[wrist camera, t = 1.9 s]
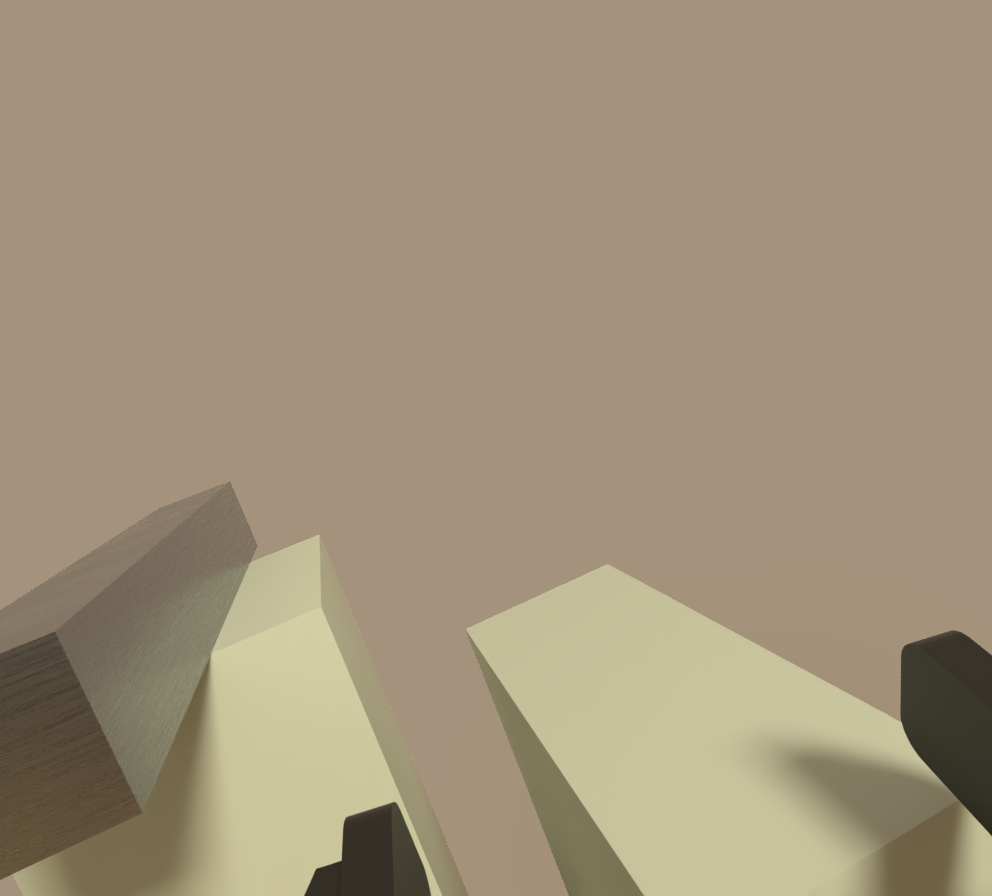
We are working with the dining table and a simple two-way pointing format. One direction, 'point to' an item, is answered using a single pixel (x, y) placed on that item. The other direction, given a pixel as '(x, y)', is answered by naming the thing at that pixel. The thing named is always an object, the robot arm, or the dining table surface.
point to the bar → (110, 672)
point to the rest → (710, 759)
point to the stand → (265, 758)
